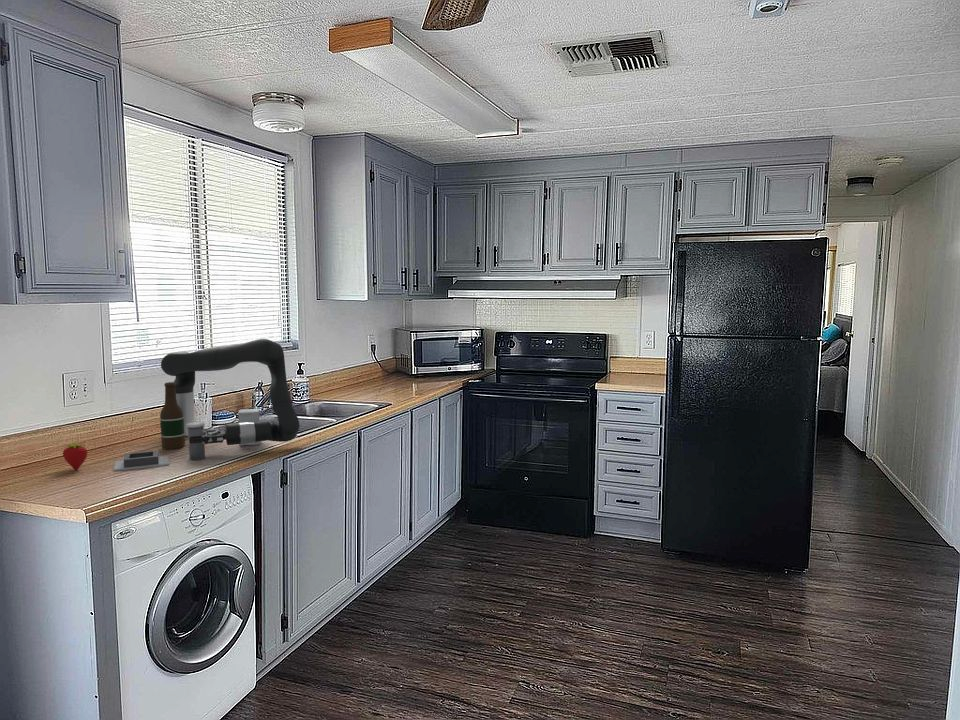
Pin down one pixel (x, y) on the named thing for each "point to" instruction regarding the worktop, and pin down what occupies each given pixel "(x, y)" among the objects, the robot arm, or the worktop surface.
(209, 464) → the worktop surface
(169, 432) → the beer bottle
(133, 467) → the grey recessed tray
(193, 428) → the gray flanged cylinder
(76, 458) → the strawberry
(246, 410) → the supplement box
